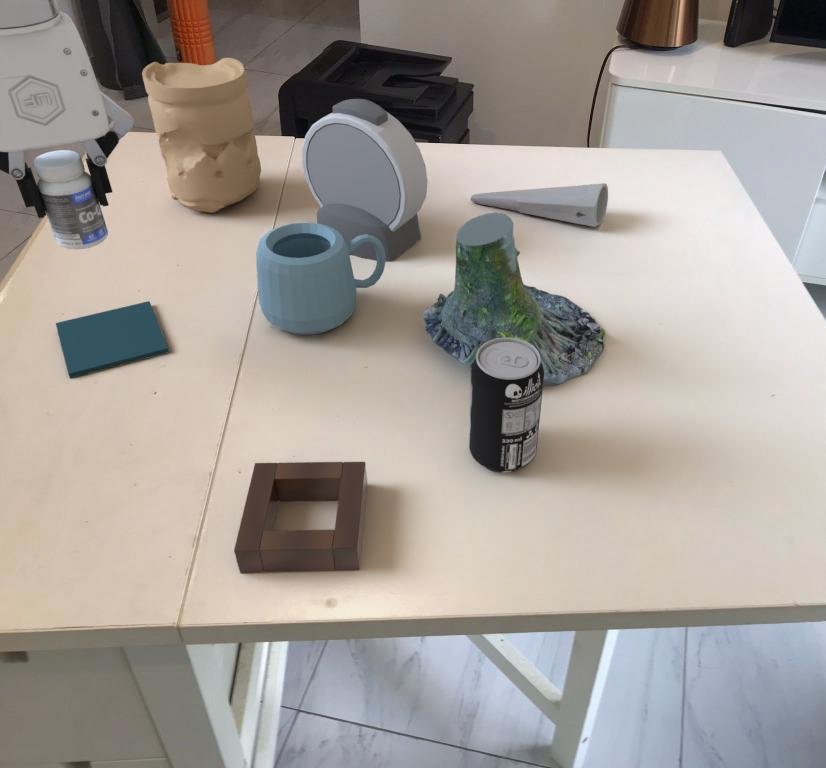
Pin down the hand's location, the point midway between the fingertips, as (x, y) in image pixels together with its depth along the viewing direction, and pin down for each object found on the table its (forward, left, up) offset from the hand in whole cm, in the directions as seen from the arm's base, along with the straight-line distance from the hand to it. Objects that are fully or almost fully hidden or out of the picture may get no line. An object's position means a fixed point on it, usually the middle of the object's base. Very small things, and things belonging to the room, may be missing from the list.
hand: (71, 204), depth 77 cm
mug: (+23, -3, -17) cm, 29 cm away
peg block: (+10, -33, -17) cm, 39 cm away
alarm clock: (+34, +11, -17) cm, 39 cm away
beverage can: (+30, -33, -17) cm, 48 cm away
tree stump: (+40, -18, -17) cm, 47 cm away
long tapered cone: (+59, +8, -17) cm, 62 cm away
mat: (0, +2, -17) cm, 17 cm away
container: (+19, +30, -17) cm, 39 cm away
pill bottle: (0, 0, -4) cm, 4 cm away
